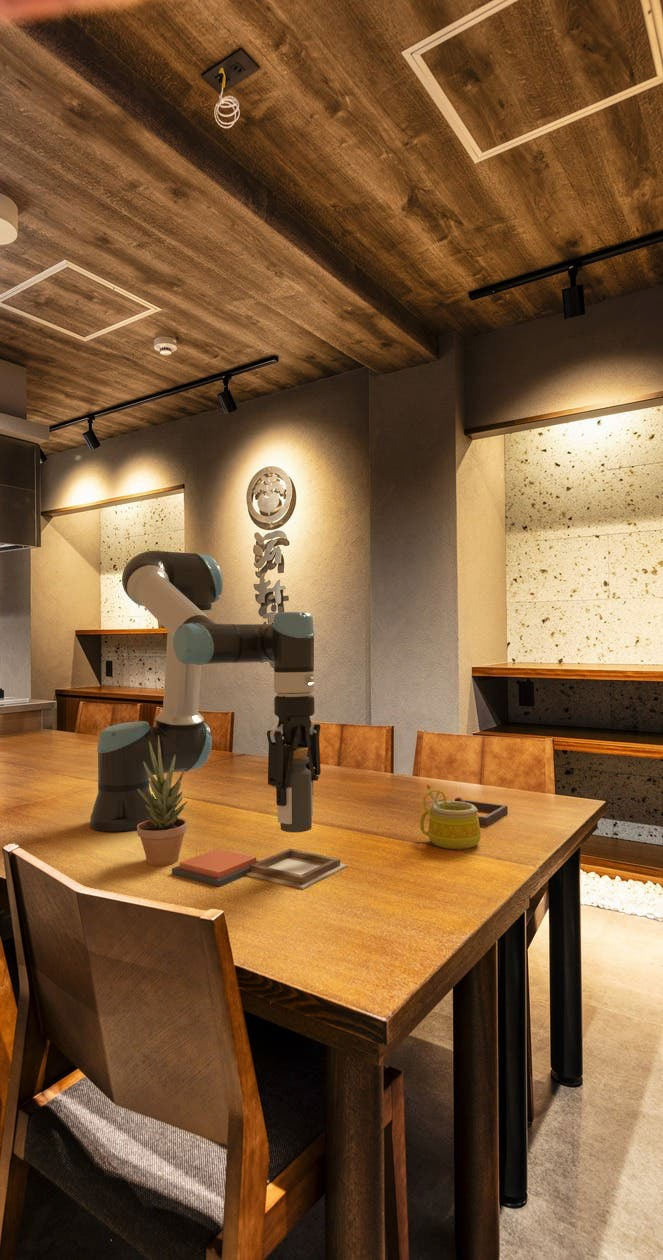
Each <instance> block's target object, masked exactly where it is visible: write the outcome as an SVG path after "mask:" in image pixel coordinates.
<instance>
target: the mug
mask: <svg viewBox="0 0 663 1260" xmlns="http://www.w3.org/2000/svg"><path fill="white" fill-rule="evenodd" d="M426 789H427V790H428V791H427V792H426V794H425V795H424V797H423V799H422V805H423V808H424V809H425V811H423V812H422V814H421V816H420V817H421V818H420V821H419V827H420V832H421V833H422V834H424V835H425V836H428V839H429V841H430V842H431V843H432V844H433V845H435V846H437V847H440V848H443V849H448V850H449V849H450V850H465V849H470V848H473V847H476V846H477V845H478V844H479V843H480V840H481V826H480V825H479V819H478V816H479V815H478V809H477V808H476V807H475V806H474V805H472V804H470V803H466V802H458V801H452V800H447V797H446V795H445V794H444V792H443V791H442V790H440V789H431V785H429V784H426ZM433 792H436V795H435V794H434V793H433ZM440 794H441V795H442V796H443V799H439V800H438V798H439V796H440ZM428 796H429V797H430V799H432V801H426V799H427V797H428ZM428 804H432V805H431V806H430V809H428V808H427V807H426V805H428ZM427 815H429V822H428V830H426V829H425V825H424V822H425V818H426V816H427Z"/></svg>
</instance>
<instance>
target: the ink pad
mask: <svg viewBox="0 0 663 1260" xmlns="http://www.w3.org/2000/svg"><path fill="white" fill-rule="evenodd" d="M259 861H260V860H257V856H252V855H248V854H244V853H239V852H236V851H235V852H234V851H232V850H231V851H230V850H225V849H221V848H215V849H213V850H210V851H207V852H204V853H202V854H199V855H196V856H194V857H191V858H188V859H185V860H182V861H180V862H179V865H178V866H177V865H176V866H174V867H172V868H171V874H172V875H175V876H179V877H182V878H186V879H189V880H193V881H197V882H201V883H204V884H209V885H211V886H215V887H220V888H221V887H223V886H224V885H228V884H230V883H231V882H234V881H235V880H239V879H241V878H243V877H244V876H245V877H246V876H247V875H246V873H249V872H250V865H252V864H254V863H257V862H259Z"/></svg>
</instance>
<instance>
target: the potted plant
mask: <svg viewBox="0 0 663 1260" xmlns="http://www.w3.org/2000/svg"><path fill="white" fill-rule="evenodd" d="M149 748H150V753H151V758H152V763H153V767H154V770H155V774H156V775H152V773H151V772H150V770H149V769H148V767H147V765H146V764H145V762H144V761H143V763H144V766H145V769H146V772H147V774H148V776H149V787H150V788H151V789H150V790H151V791H152V793H151V795H152V797H151V796H149V795H147V794H146V793H145V792H143V793H144V794H143V793H142V792H141V791H140V790H139V789H138V792H139V793H140V795H141V796H142V797H143V798H144V800H145V801H146V802H147V803H148V804H149V805H150V808H149V807H148V806H147V805H146V808H147V809H148V810H149V811H150V814H151V816H152V818H153V819H152V818H151V817H149V816H148V818H149V820H148V821H145V822H142V823H140V824H138V825H137V829H136V832H137V833H136V834H137V836H138V837H140V841H141V844H142V849H143V851H144V854H145V858H146V862H147V864H148V865H150V866H152V867H153V866H154V867H162V866H168V865H173V864H175V863H177V862H178V861H179V857H180V853H181V849H182V844H183V840H184V836H185V833H186V832H187V831H188V822H187V820H186V819H184V818H182V817H181V818H180V817H178V816H179V815H181V812H182V811H183V810H184V809H185V807H186V804H187V803H188V801H185V802H184V803H183V804H181V805H180V806H179V807H178V805H179V804H180V803H181V802H182V801H183V797H182V794H183V791H181V792H180V793H179V791H180V789H181V785H182V784H181V782H182V779H183V777H184V773H185V772H184V770H183V772H182V771H181V774H180V775H179V778H178V779H177V781H176V783H174V785H172V781H173V774H174V772H173V771H174V765H175V755H174V758H173V759H172V762H171V766H170V768H169V771H168V772H167V773H166V777H165V773H164V772H163V764H162V759H161V749H160V741H159V735H158V763H159V768H158V764H157V761H156V758H155V755H154V752H153V749H152V746H151V743H150V741H149ZM155 777H156V778H155ZM149 800H150V801H151V802H152V803H153V804H152V803H151V802H150V801H149ZM177 807H178V808H177Z"/></svg>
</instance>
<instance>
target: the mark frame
mask: <svg viewBox="0 0 663 1260" xmlns="http://www.w3.org/2000/svg"><path fill="white" fill-rule="evenodd" d="M258 861H259V862H257V863H254V864H252V865H250V872H249V873H246V875H245V876H248V877H253V878H257V879H261V880H265V881H268V882H272V883H277V884H281V885H284V886H289V887H292V888H296V889H300V890H305V889H307V888H309V887H311V886H313V885H315V884H317V883H319V882H321V881H322V880H324V879H326V878H328V877H330V876H332V875H333V874H336V873H339V872H341V871H342V870H344V869H345V868H347V867H349V866H348V864H346V863H345V864H344V863H341V858H337V857H332V856H327V855H322V854H318V853H317V854H316V853H313V852H309V851H302V850H298V849H295V848H288V849H285V850H283V851H281V852H278V853H277V854H273V855H271V856H268V857H267V858H264V859H261V860H258Z"/></svg>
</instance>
